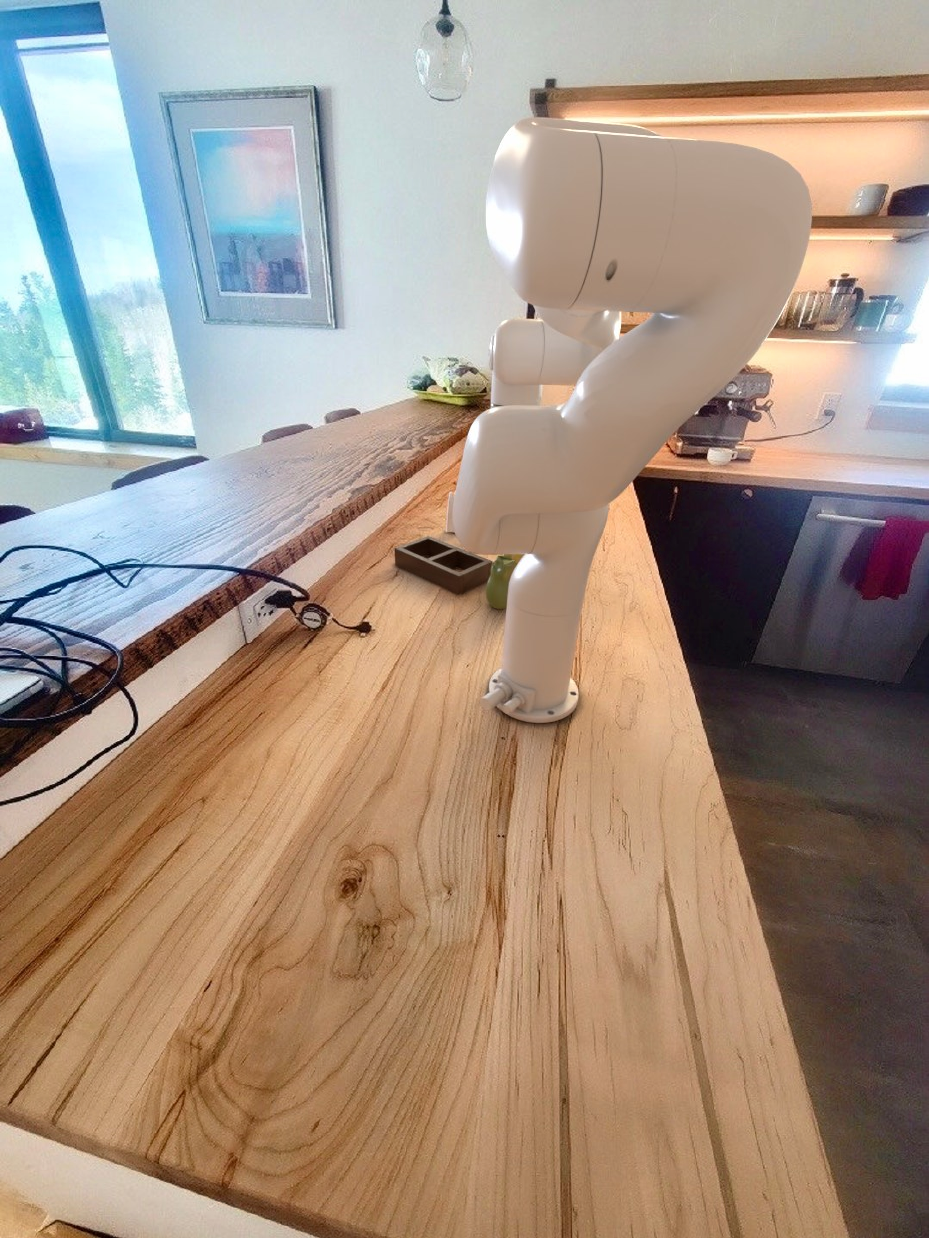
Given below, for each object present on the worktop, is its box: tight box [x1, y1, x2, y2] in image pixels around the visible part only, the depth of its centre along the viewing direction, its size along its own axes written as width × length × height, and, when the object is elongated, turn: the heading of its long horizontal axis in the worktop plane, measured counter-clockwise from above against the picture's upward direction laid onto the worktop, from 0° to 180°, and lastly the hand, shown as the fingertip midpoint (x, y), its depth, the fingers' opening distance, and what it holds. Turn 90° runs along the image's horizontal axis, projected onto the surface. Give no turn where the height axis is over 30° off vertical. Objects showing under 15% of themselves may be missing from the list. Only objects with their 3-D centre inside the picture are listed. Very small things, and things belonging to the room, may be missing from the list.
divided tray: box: [393, 535, 494, 596], centre depth 104 cm, size 10×19×4 cm, turn 47°
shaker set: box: [445, 491, 455, 534], centre depth 122 cm, size 12×4×11 cm, turn 76°
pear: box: [485, 554, 516, 610], centre depth 90 cm, size 6×5×10 cm
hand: (507, 526), depth 84 cm, fingers open, 9 cm apart
